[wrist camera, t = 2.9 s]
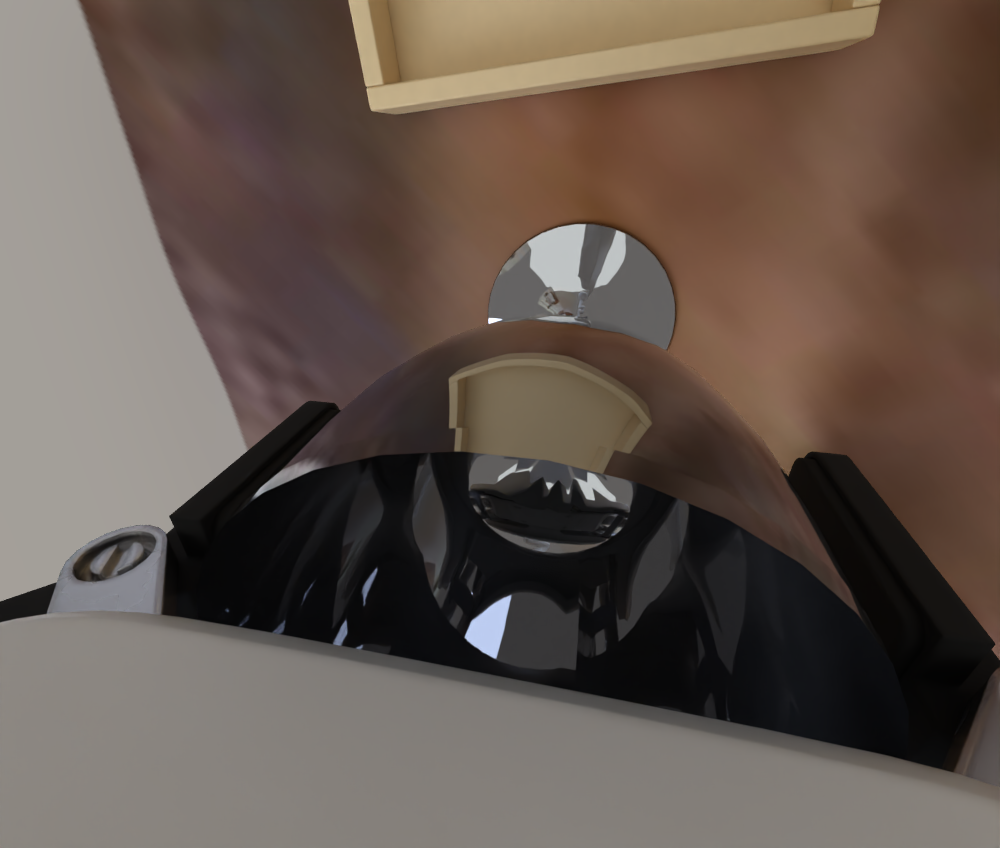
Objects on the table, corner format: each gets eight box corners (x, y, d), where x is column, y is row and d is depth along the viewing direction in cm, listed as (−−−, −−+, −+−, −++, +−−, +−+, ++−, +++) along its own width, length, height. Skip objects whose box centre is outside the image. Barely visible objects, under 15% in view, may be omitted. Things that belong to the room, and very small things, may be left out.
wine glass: (438, 290, 19) (80, 601, 6) (621, 157, 15) (678, 232, 3) (546, 440, 21) (454, 879, 9) (724, 355, 18) (1006, 880, 5)
